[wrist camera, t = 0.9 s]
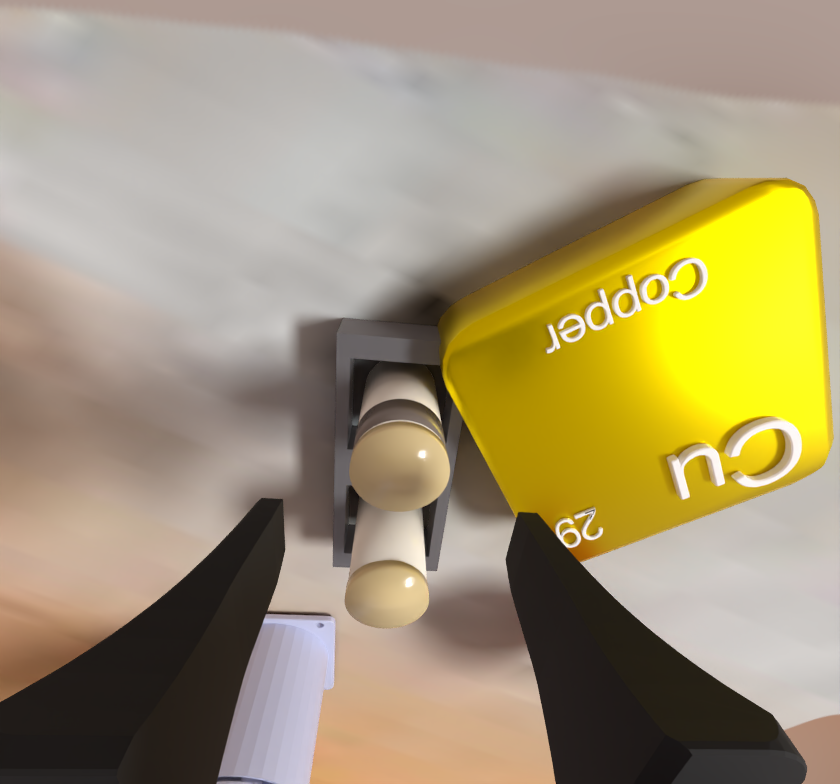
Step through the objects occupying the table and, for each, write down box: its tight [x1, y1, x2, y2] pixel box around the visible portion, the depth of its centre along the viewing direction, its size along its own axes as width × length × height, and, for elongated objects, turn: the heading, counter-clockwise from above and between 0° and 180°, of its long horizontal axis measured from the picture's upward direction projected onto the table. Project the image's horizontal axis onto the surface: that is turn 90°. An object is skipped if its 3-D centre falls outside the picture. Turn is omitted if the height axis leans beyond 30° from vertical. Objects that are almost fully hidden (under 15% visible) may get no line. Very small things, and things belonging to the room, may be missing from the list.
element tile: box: [437, 178, 834, 562], centre depth 20 cm, size 15×15×5 cm
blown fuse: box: [349, 361, 450, 512], centre depth 19 cm, size 4×4×7 cm
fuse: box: [345, 496, 429, 628], centre depth 22 cm, size 4×4×7 cm
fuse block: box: [333, 318, 463, 571], centre depth 22 cm, size 6×14×2 cm, turn 174°
